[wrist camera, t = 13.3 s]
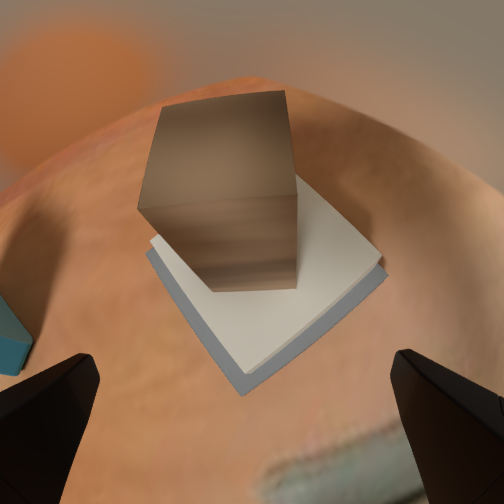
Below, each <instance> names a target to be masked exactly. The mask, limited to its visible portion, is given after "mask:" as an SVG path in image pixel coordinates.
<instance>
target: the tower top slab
mask: <svg viewBox="0 0 504 504" xmlns="http://www.w3.org/2000/svg"><path fill="white" fill-rule="evenodd" d="M295 175H296V184H297V193H298V213H297V266H296V289H283V290H262V291H238V292H212V291H211V290H210V289H209V288H208V287H207V286H206V285H205V284H204V283H203V281H202V280H201V279H200V278H199V277H198V276H197V275H196V274H195V273H194V272H193V271H192V270H191V269H190V268H189V266H188V265H187V264H186V263H185V262H184V261H183V260H182V259H181V258H180V257H179V256H178V255H177V253H176V252H175V251H174V250H173V249H172V248H171V247H170V246H169V245H168V243H167V242H166V241H165V240H164V239H163V238H162V237H161V236H160V235H159V234H158V235H157V236H156V237H154V238H153V239H152V240H150V242H151V244H152V245H153V247H154V248H155V250H156V251H157V253H158V254H159V256H160V257H161V259H162V260H163V262H164V263H165V265H166V266H167V268H168V269H169V271H170V272H171V274H172V275H173V277H174V278H175V280H176V281H177V283H178V284H179V286H180V287H181V289H182V290H183V291H184V293H185V294H186V296H187V297H188V299H189V300H190V301H191V303H192V304H193V306H194V307H195V308H196V310H197V311H198V313H199V314H200V315H201V317H202V318H203V320H204V321H205V322H206V324H207V325H208V326H209V328H210V329H211V330H212V332H213V333H214V334H215V336H216V337H217V338H218V340H219V341H220V342H221V344H222V345H223V346H224V348H225V349H226V350H227V352H228V353H229V354H230V355H231V357H232V358H233V359H234V361H235V362H236V363H237V364H238V366H239V367H240V368H241V370H242V371H243V372H244V373H245V374H251V373H252V372H254V371H255V370H256V369H258V368H259V367H260V366H261V365H263V364H264V363H265V362H267V361H268V360H269V359H270V358H272V357H273V356H274V355H275V354H277V353H278V352H279V351H280V350H282V349H283V348H284V347H285V346H287V345H288V344H289V343H290V342H292V341H293V340H294V339H295V338H296V337H298V336H299V335H300V334H301V333H302V332H304V331H305V330H306V329H307V328H308V327H310V326H311V325H312V324H313V323H314V322H315V321H317V320H318V319H319V318H320V317H321V316H322V315H323V314H325V313H326V312H327V311H328V310H329V309H330V308H331V307H333V306H334V305H335V304H336V303H337V302H338V301H339V300H340V299H341V298H343V297H344V296H345V295H346V294H347V293H348V292H349V291H350V290H351V289H352V288H353V287H354V286H356V285H357V284H358V283H359V282H360V281H361V280H362V279H363V278H364V277H365V276H366V275H367V274H368V273H369V272H370V271H371V270H372V269H373V268H374V267H375V265H376V264H377V263H378V261H379V260H380V258H381V257H382V254H381V253H380V252H379V251H378V250H377V249H376V248H375V247H374V246H373V245H372V244H371V243H370V242H369V241H368V240H367V239H366V238H365V237H364V236H363V235H362V234H361V233H360V232H359V231H358V230H357V229H356V228H355V227H354V226H353V225H352V224H350V223H349V222H348V221H347V220H346V219H345V218H344V217H343V216H342V215H341V214H340V213H339V212H338V211H337V210H336V209H335V208H334V207H332V206H331V205H330V204H329V203H328V202H327V201H326V200H325V199H324V198H323V197H322V196H320V195H319V194H318V193H317V192H316V191H315V190H314V189H313V188H312V187H310V186H309V185H308V184H307V183H306V182H305V181H304V180H302V179H301V178H300V177H299V176H298V175H297V174H296V173H295Z"/></svg>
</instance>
